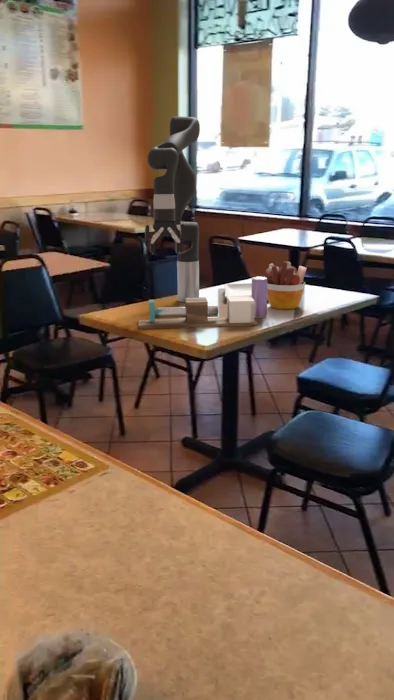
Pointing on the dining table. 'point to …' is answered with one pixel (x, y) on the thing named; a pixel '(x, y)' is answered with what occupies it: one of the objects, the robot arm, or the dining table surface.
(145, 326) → the rail board
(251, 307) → the socket
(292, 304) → the bucket of meat
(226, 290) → the square plate
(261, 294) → the beverage can
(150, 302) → the slip tube
